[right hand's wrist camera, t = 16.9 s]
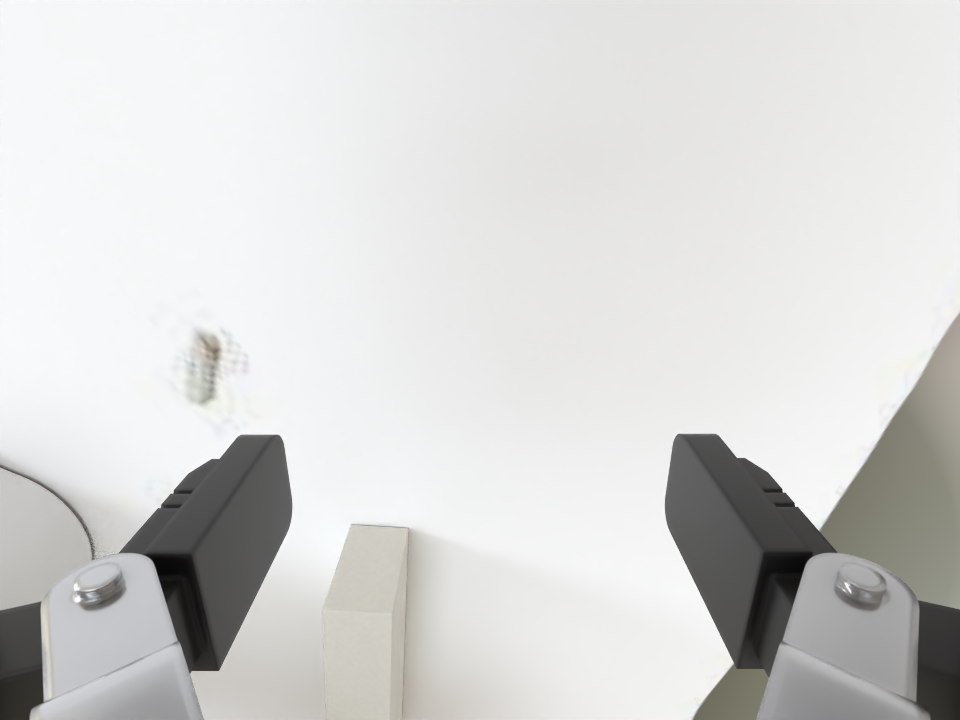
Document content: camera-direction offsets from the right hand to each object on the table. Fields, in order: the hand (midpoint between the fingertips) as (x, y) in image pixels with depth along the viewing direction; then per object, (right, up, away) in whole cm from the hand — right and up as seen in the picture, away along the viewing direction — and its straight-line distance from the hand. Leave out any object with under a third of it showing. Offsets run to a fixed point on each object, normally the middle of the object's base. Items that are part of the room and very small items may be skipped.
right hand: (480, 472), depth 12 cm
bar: (-9, -22, +40) cm, 46 cm away
